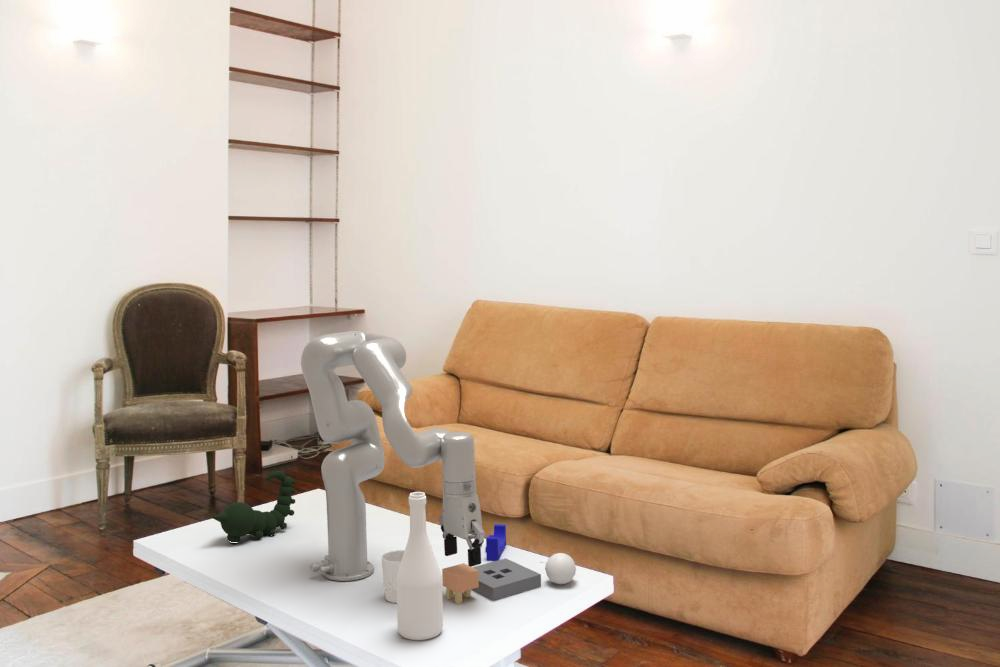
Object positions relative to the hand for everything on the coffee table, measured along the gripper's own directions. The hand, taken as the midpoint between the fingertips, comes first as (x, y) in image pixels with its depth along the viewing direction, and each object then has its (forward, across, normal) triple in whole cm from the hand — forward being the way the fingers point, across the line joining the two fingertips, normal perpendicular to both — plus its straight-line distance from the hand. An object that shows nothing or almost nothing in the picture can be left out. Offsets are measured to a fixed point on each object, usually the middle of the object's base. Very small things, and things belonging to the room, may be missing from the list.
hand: (462, 559), depth 211 cm
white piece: (+10, -5, -24) cm, 26 cm away
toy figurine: (+7, +73, +21) cm, 76 cm away
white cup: (+9, +10, +11) cm, 18 cm away
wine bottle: (+10, -9, +17) cm, 22 cm away
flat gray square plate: (+9, +2, -12) cm, 15 cm away
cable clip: (+9, +21, -24) cm, 33 cm away
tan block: (+9, +1, 0) cm, 9 cm away
